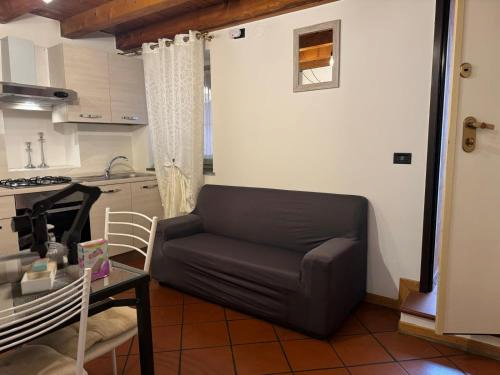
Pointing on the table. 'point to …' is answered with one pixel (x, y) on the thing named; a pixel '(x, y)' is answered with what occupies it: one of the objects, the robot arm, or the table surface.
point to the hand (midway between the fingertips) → (43, 261)
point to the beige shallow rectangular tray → (42, 274)
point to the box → (37, 284)
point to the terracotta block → (42, 260)
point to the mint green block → (40, 266)
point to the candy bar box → (94, 257)
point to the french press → (52, 243)
